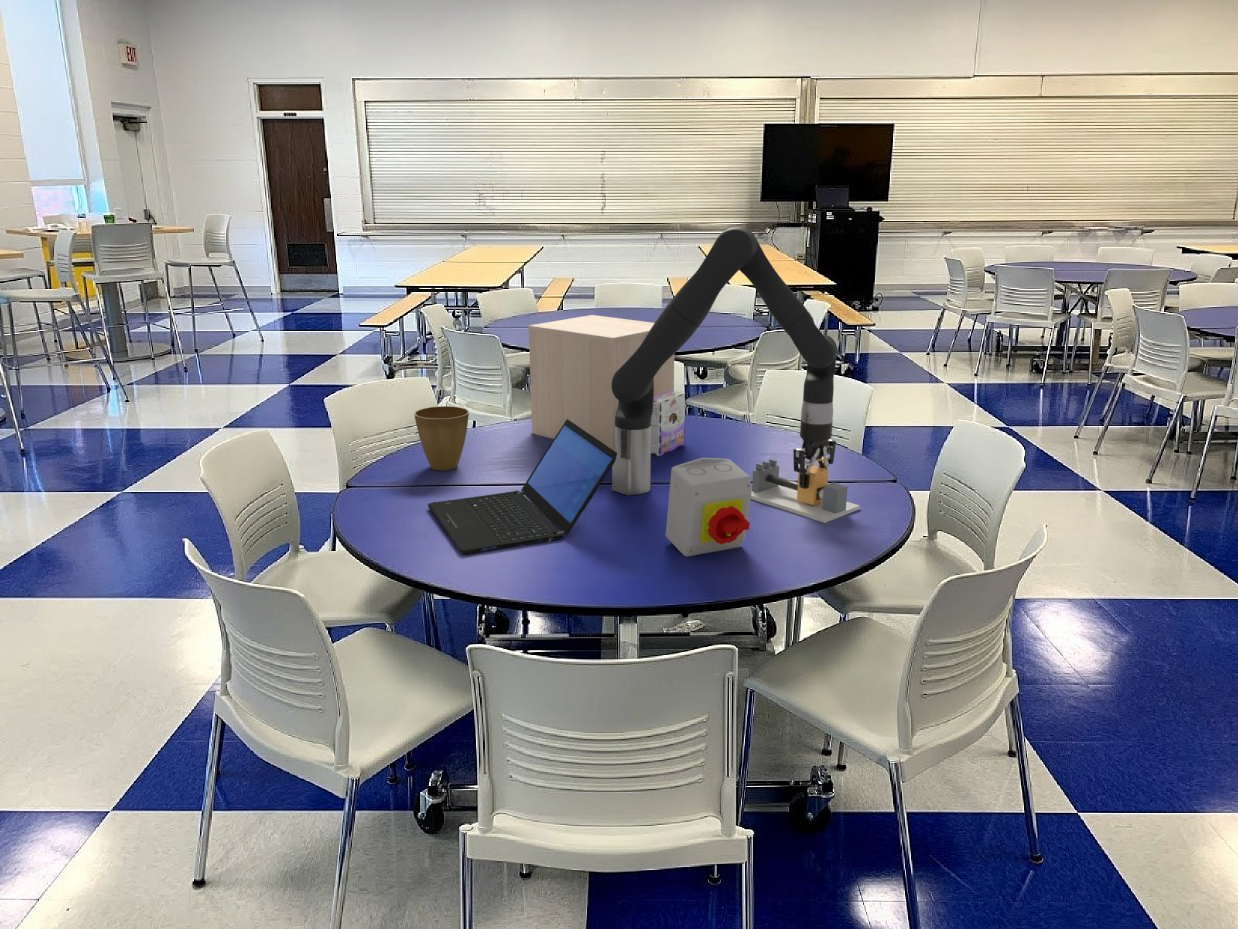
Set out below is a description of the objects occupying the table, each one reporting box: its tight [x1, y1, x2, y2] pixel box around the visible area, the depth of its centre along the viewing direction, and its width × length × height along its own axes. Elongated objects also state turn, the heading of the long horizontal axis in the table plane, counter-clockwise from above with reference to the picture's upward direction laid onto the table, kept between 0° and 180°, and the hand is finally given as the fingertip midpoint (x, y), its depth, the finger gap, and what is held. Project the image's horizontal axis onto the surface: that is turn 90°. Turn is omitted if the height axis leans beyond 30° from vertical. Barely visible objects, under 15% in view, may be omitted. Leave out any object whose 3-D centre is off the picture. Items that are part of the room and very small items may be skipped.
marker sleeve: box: [797, 464, 829, 505], centre depth 232 cm, size 5×5×8 cm
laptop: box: [427, 419, 617, 555], centre depth 222 cm, size 33×38×19 cm
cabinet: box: [527, 314, 675, 451], centre depth 294 cm, size 35×29×34 cm
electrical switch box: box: [665, 457, 752, 558], centre depth 203 cm, size 15×15×20 cm
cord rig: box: [751, 458, 861, 524], centre depth 234 cm, size 25×14×8 cm, turn 42°
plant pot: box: [413, 405, 470, 471], centre depth 263 cm, size 15×15×16 cm
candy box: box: [651, 391, 686, 457], centre depth 279 cm, size 14×6×16 cm, turn 144°
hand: (812, 484), depth 231 cm, fingers open, 6 cm apart
